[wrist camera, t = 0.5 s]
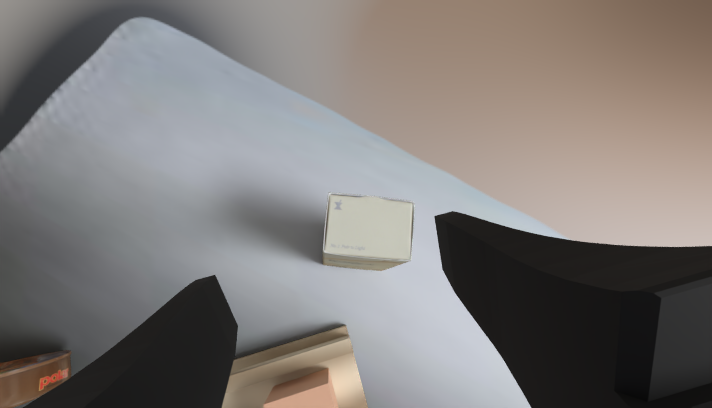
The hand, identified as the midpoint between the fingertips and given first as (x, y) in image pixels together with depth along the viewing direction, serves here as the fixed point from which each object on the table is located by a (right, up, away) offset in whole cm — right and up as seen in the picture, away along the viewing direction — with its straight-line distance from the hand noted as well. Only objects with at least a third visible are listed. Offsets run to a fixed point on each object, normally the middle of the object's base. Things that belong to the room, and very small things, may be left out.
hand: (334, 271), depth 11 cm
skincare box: (+1, -2, +24) cm, 24 cm away
